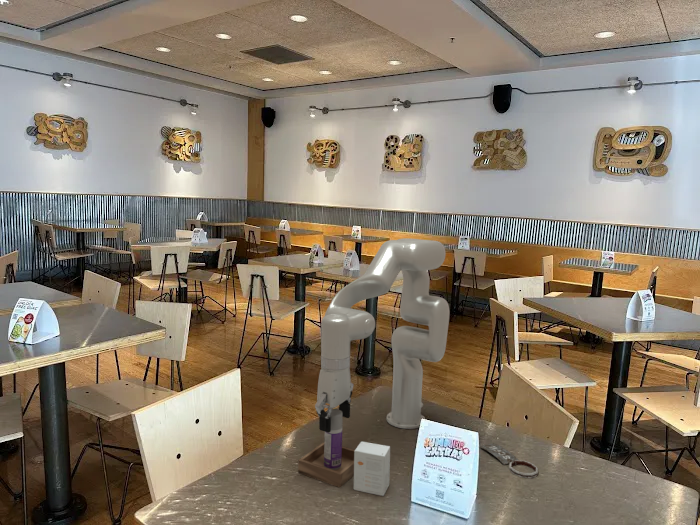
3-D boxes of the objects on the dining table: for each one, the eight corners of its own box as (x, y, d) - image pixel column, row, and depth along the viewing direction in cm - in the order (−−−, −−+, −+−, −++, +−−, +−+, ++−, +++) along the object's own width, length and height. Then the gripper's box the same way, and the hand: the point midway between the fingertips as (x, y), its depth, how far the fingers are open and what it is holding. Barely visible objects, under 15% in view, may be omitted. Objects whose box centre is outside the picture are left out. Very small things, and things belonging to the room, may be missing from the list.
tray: (324, 452, 148) (325, 440, 148) (365, 465, 142) (365, 453, 141) (298, 472, 137) (298, 460, 136) (340, 487, 130) (340, 474, 130)
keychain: (497, 445, 157) (497, 438, 157) (544, 476, 140) (545, 469, 139) (476, 449, 154) (476, 443, 154) (521, 482, 136) (522, 475, 136)
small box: (389, 485, 132) (391, 446, 131) (383, 497, 127) (385, 456, 126) (359, 478, 135) (361, 440, 133) (352, 490, 130) (354, 450, 128)
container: (342, 462, 141) (343, 409, 140) (340, 471, 137) (341, 416, 135) (325, 460, 142) (326, 408, 140) (322, 469, 137) (324, 415, 135)
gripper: (340, 350, 145) (339, 408, 147) (304, 369, 130) (304, 433, 133) (364, 355, 141) (363, 414, 144) (329, 374, 126) (329, 440, 129)
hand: (335, 423), depth 138 cm, fingers open, 9 cm apart
